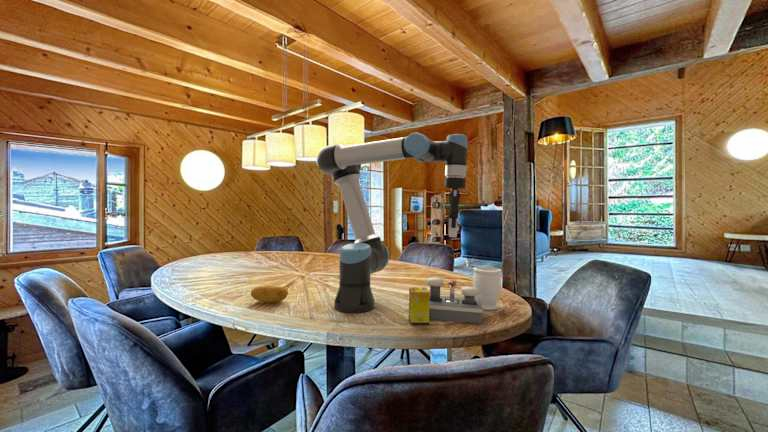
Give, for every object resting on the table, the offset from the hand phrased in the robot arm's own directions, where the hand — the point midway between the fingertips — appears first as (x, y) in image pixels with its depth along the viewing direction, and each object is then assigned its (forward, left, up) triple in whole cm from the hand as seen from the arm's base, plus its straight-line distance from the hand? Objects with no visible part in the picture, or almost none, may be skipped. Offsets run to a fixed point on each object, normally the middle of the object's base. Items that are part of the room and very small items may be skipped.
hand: (452, 235), depth 122 cm
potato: (-69, -9, -28) cm, 75 cm away
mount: (+1, -5, -28) cm, 28 cm away
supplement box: (-10, -15, -28) cm, 34 cm away
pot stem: (+1, -5, -28) cm, 28 cm away
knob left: (-5, -6, -22) cm, 24 cm away
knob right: (+6, -6, -25) cm, 26 cm away
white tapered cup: (+14, +7, -28) cm, 32 cm away
